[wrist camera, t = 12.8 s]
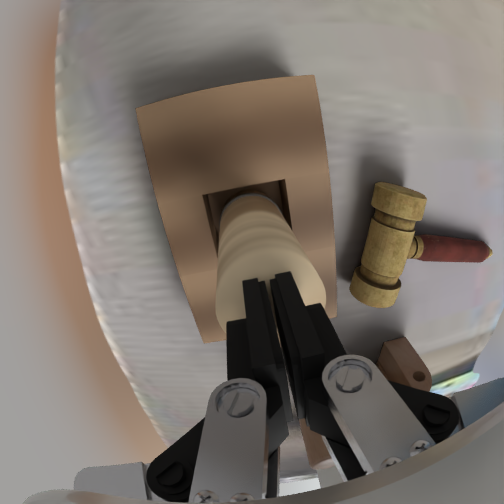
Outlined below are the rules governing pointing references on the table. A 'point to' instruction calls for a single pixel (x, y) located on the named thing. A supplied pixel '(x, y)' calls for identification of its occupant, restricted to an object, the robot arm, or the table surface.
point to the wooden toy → (394, 369)
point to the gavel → (402, 245)
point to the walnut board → (239, 175)
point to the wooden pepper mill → (258, 254)
